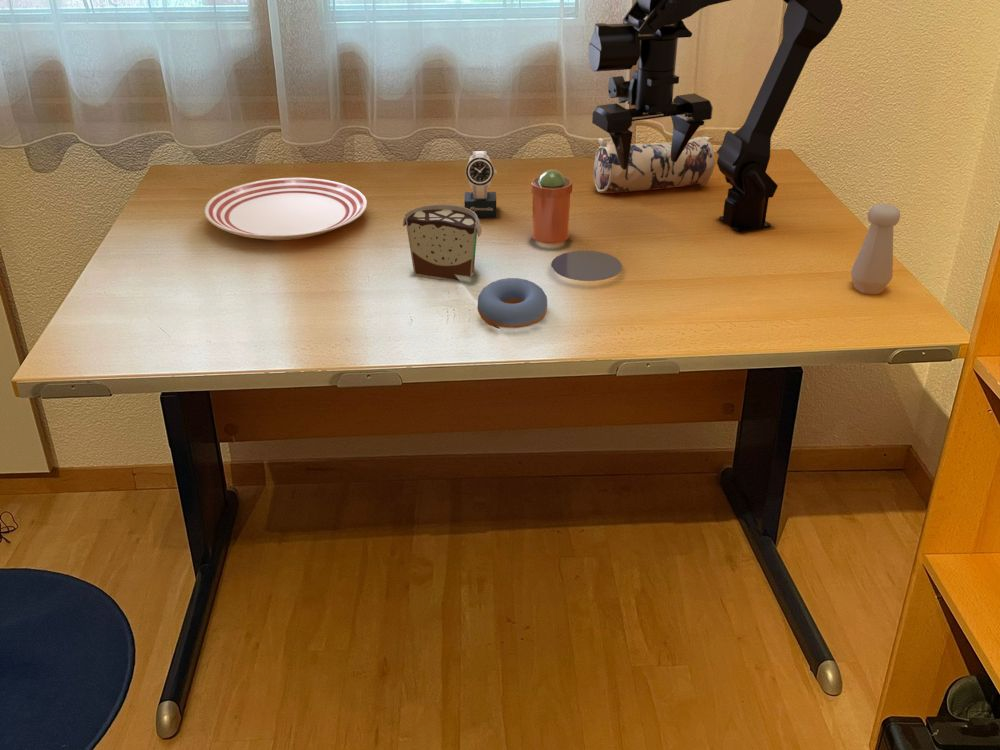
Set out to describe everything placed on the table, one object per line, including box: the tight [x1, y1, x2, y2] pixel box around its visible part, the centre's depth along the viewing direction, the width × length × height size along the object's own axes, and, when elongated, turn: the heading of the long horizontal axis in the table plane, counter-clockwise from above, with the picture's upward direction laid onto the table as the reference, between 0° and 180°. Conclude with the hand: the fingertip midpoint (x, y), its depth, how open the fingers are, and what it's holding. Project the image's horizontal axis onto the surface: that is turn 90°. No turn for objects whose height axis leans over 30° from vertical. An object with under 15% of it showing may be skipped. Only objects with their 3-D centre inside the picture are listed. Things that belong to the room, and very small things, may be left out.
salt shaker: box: [850, 203, 901, 295], centre depth 144 cm, size 6×6×13 cm
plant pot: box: [530, 169, 573, 244], centre depth 159 cm, size 7×7×12 cm
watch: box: [464, 150, 498, 219], centre depth 170 cm, size 6×8×11 cm
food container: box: [402, 203, 482, 283], centre depth 151 cm, size 12×6×10 cm, turn 71°
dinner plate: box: [204, 177, 368, 241], centre depth 170 cm, size 28×27×3 cm
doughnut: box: [476, 277, 548, 330], centre depth 139 cm, size 10×10×5 cm
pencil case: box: [593, 136, 716, 194], centre depth 181 cm, size 22×8×10 cm, turn 101°
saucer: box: [550, 250, 623, 282], centre depth 153 cm, size 11×11×1 cm
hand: (648, 165), depth 159 cm, fingers open, 9 cm apart
